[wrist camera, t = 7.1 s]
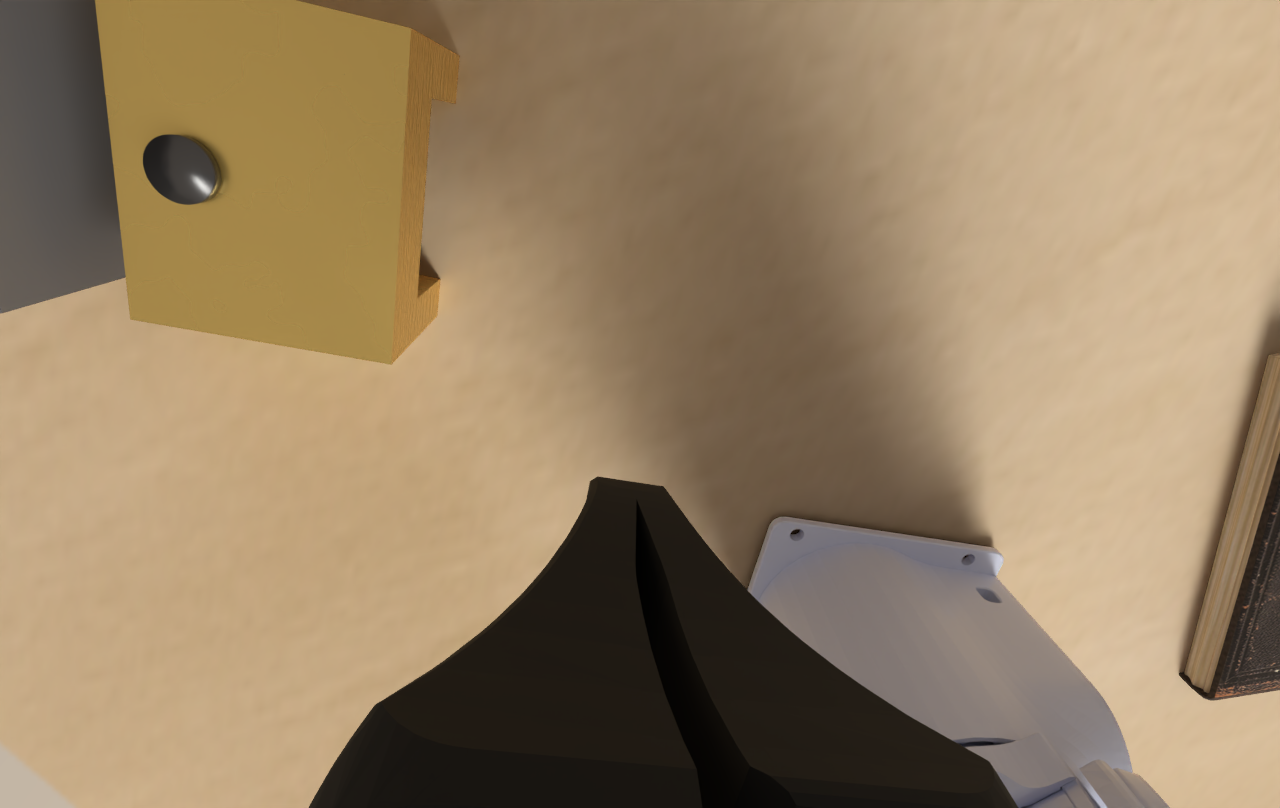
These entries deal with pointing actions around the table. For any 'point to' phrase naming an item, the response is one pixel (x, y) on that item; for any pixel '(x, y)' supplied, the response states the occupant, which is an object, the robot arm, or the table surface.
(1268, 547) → the hardcover book
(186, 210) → the wooden knob block
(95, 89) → the gray block
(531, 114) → the table surface
